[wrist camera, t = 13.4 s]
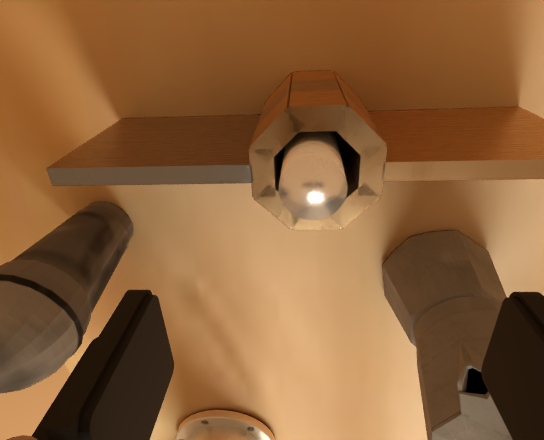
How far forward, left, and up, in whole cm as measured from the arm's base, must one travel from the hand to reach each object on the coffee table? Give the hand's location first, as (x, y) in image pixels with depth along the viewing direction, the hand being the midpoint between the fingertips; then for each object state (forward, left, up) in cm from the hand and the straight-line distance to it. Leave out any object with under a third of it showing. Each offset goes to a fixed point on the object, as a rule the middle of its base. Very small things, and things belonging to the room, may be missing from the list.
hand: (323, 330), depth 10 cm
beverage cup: (-18, +8, -20) cm, 28 cm away
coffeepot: (-4, -18, -20) cm, 27 cm away
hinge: (0, 0, -19) cm, 19 cm away
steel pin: (0, 0, -19) cm, 19 cm away
